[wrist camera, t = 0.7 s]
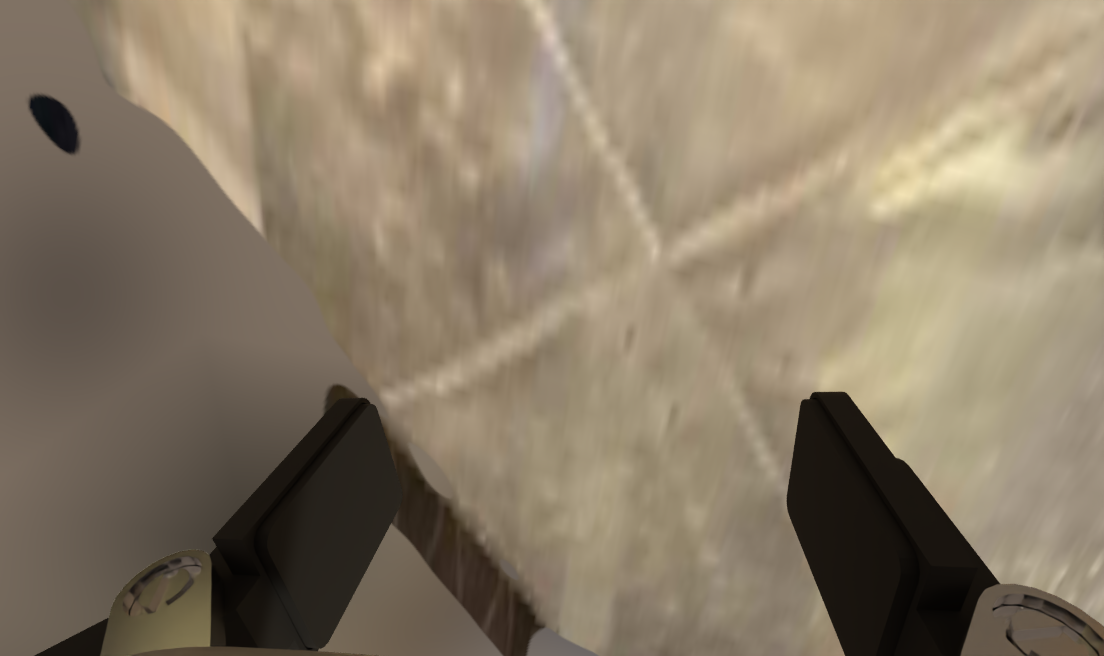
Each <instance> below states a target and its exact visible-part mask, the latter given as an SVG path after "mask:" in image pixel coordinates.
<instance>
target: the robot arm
mask: <svg viewBox="0 0 1104 656" xmlns="http://www.w3.org/2000/svg"><path fill="white" fill-rule="evenodd" d="M401 502H402V488H401V485H400V482H399V478H398V475H397V472H396V469H395V466H394V462H393V459H392V456H391V453H390V449H389V446H388V443H387V440H386V436H385V433H384V430H383V427H382V423H381V420H380V417H379V414H378V411H377V408H376V406H375V405H373V404H370V402H369V401H368V400H367V399H365V398H342V399H339V400H338V401H337V402H336V403H335V404H334V405H333V406H332V407H331V408H330V409H329V410H328V412H327V413H326V414H325V415H324V416H323V417H322V418H321V419H320V420H319V421H318V423H317V424H316V425H315V426H314V427H313V428H312V429H311V430H310V431H309V432H308V434H307V435H306V436H305V437H304V438H303V439H302V440H301V441H300V442H299V443H298V445H297V446H296V447H295V448H294V449H293V450H292V451H291V452H290V454H288V456H287V457H286V458H285V459H284V460H283V461H282V462H281V463H280V464H279V466H278V467H277V468H276V469H275V470H274V471H273V472H272V473H271V474H270V475H269V476H268V478H267V479H266V480H265V481H264V482H263V483H262V484H261V485H260V486H259V488H258V489H257V490H256V491H255V492H254V493H253V494H252V495H251V496H250V497H249V498H248V500H247V501H246V502H245V503H244V504H243V505H242V506H241V507H240V508H239V509H238V511H237V512H236V513H235V514H234V515H233V516H232V517H231V518H230V519H229V521H228V522H227V523H226V524H225V525H224V526H223V527H222V528H221V529H220V530H219V532H218V533H217V534H216V535H215V536H214V537H213V541H214V543H215V544H216V546H217V547H216V548H215V549H214V550H213V551H212V552H211V554H210V555H209V554H207V553H206V552H205V551H203V550H196V549H191V550H184V551H179V552H177V553H174V554H171V555H168V556H166V557H164V558H162V559H160V560H158V561H156V562H154V563H152V564H151V565H149V566H148V567H147V568H145V569H144V570H142V571H141V572H139V573H138V574H137V575H136V576H135V577H133V578H132V579H131V580H130V581H129V582H128V583H127V584H126V585H125V586H124V587H123V589H122V590H121V591H120V593H119V594H118V595H117V596H116V598H115V600H114V602H113V605H112V607H111V610H110V615H109V618H107V619H105V620H103V621H101V622H99V623H97V624H96V625H94V626H91V627H89V628H87V629H86V630H84V631H82V632H80V633H78V634H76V635H74V636H72V637H70V638H68V639H66V640H65V641H62V642H60V643H58V644H56V645H54V646H53V647H51V648H48V649H47V650H45V651H43V652H41V653H39V654H37V655H35V656H376V655H363V654H348V653H334V652H319V651H318V649H319V648H323V647H324V646H325V645H326V644H327V643H328V642H329V640H330V638H331V636H332V634H333V633H334V630H335V629H336V627H337V625H338V623H339V621H340V619H341V617H342V615H343V614H344V612H345V610H346V608H347V606H348V604H349V602H350V600H351V598H352V596H353V594H354V593H355V591H356V589H357V587H358V585H359V583H360V581H361V579H362V577H363V576H364V574H365V572H366V570H367V568H368V566H369V564H370V562H371V560H372V559H373V557H374V555H375V553H376V551H377V549H378V547H379V545H380V543H381V541H382V540H383V538H384V536H385V534H386V532H387V530H388V528H389V526H390V524H391V522H392V521H393V519H394V517H395V515H396V513H397V511H398V509H399V507H400V505H401ZM787 509H788V513H789V516H790V519H791V521H792V524H793V526H794V529H795V531H796V534H797V536H798V539H799V541H800V544H801V546H802V549H803V551H804V554H805V556H806V559H807V561H808V564H809V566H810V569H811V571H812V574H813V576H814V579H815V581H816V584H817V586H818V589H819V591H820V594H821V596H822V599H823V601H824V604H825V606H826V609H827V611H828V614H829V616H830V619H831V621H832V624H833V626H834V629H835V631H836V634H837V636H838V639H839V641H840V644H841V646H842V649H843V651H844V654H845V656H1104V626H1103V625H1102V624H1100V623H1099V622H1097V621H1096V620H1095V619H1093V618H1092V617H1091V616H1089V615H1088V614H1086V613H1085V612H1084V611H1082V610H1081V609H1080V608H1078V607H1076V606H1074V605H1072V604H1070V603H1068V602H1067V601H1065V600H1063V599H1061V598H1059V597H1057V596H1055V595H1052V594H1050V593H1047V592H1044V591H1042V590H1039V589H1036V588H1033V587H1028V586H1023V585H1018V584H1000V583H999V582H998V580H997V579H996V578H995V577H994V575H993V574H992V573H991V571H990V570H989V569H988V567H987V566H986V565H985V564H984V562H983V561H982V560H981V558H980V557H979V556H978V555H977V553H976V552H975V551H974V549H973V548H972V547H971V545H970V544H969V543H968V542H967V540H966V539H965V538H964V536H963V535H962V534H961V533H960V531H959V530H958V529H957V527H956V526H955V525H954V523H953V522H952V521H951V520H950V518H949V517H948V516H947V514H946V513H945V512H944V510H943V509H942V508H941V507H940V505H939V504H938V503H937V501H936V500H935V499H934V498H933V496H932V495H931V494H930V492H929V491H928V490H927V488H926V487H925V486H924V485H923V483H922V482H921V481H920V479H919V478H918V477H917V476H916V474H915V473H914V472H913V470H912V469H911V468H910V467H909V466H908V465H907V464H906V463H905V462H904V461H903V460H901V459H898V458H895V456H894V455H893V454H892V452H891V451H890V450H889V448H888V447H887V446H886V444H885V443H884V442H883V440H882V439H881V438H880V436H879V435H878V434H877V432H876V431H875V430H874V428H873V427H872V426H871V425H870V423H869V422H868V421H867V419H866V418H865V417H864V415H863V414H862V413H861V411H860V410H859V409H858V407H857V406H856V405H855V403H854V402H853V401H852V399H851V398H850V397H849V395H848V394H847V393H845V392H814V393H812V395H811V396H810V399H804V400H802V402H801V405H800V411H799V418H798V425H797V432H796V438H795V445H794V452H793V458H792V465H791V472H790V479H789V485H788V492H787Z"/></svg>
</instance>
